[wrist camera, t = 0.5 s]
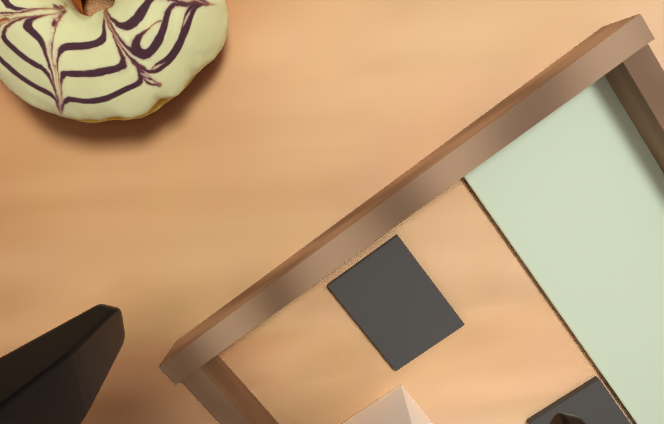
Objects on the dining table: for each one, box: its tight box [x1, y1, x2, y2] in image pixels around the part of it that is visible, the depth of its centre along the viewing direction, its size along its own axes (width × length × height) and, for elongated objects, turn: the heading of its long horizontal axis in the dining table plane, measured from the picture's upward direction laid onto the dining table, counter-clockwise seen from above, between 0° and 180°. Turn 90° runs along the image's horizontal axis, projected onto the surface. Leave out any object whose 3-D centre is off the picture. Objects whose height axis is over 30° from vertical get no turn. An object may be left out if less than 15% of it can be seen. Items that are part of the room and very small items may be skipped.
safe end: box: [464, 76, 664, 424], centre depth 23 cm, size 8×21×1 cm, turn 37°
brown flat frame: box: [159, 14, 664, 424], centre depth 23 cm, size 26×24×2 cm
